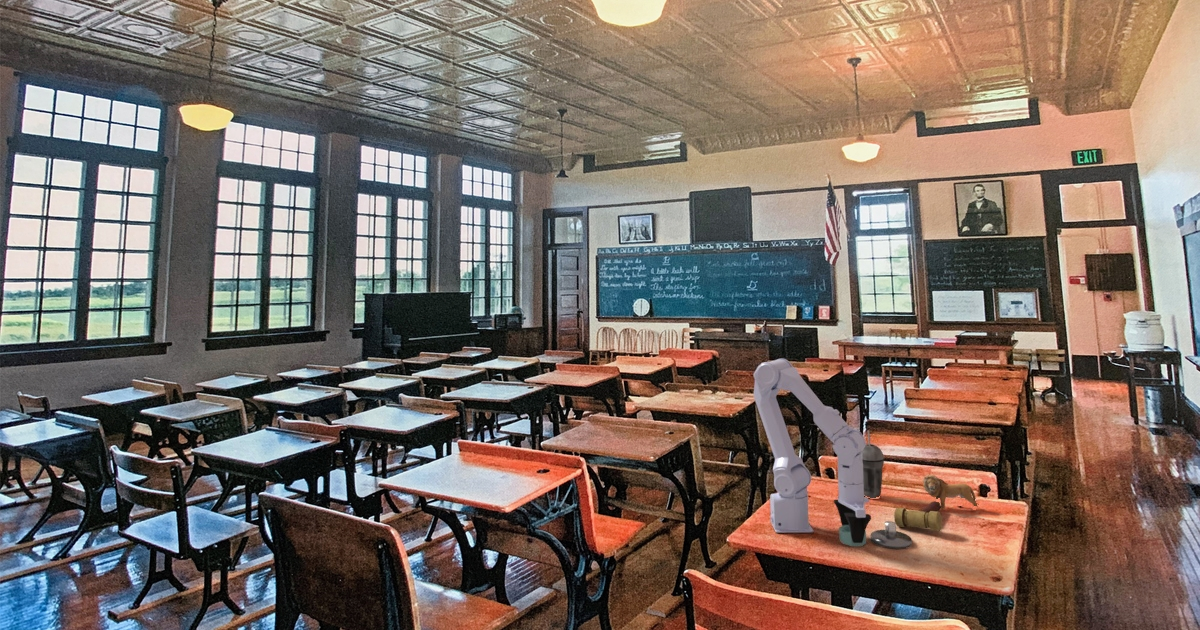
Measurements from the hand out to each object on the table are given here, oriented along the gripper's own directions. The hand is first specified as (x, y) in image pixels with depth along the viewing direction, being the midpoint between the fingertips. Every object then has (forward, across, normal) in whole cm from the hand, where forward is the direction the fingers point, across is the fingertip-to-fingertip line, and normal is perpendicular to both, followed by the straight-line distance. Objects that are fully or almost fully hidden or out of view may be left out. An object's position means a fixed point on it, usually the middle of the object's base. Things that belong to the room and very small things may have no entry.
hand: (852, 535), depth 147 cm
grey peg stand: (+1, 0, -9) cm, 9 cm away
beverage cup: (+2, +31, -15) cm, 34 cm away
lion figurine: (+1, +20, -32) cm, 38 cm away
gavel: (+1, +13, -23) cm, 27 cm away
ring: (+1, 0, 0) cm, 1 cm away
